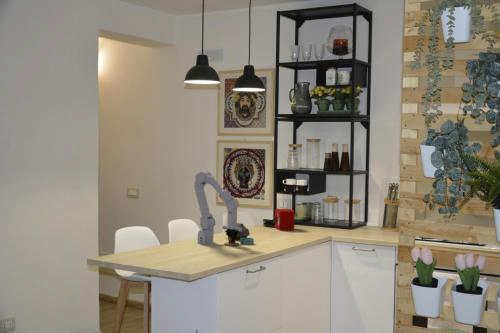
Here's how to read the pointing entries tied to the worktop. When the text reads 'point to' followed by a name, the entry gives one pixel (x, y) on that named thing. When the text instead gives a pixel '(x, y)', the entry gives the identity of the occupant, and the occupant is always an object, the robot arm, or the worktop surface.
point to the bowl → (246, 241)
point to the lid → (231, 243)
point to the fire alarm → (284, 219)
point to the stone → (242, 232)
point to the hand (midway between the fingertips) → (231, 242)
